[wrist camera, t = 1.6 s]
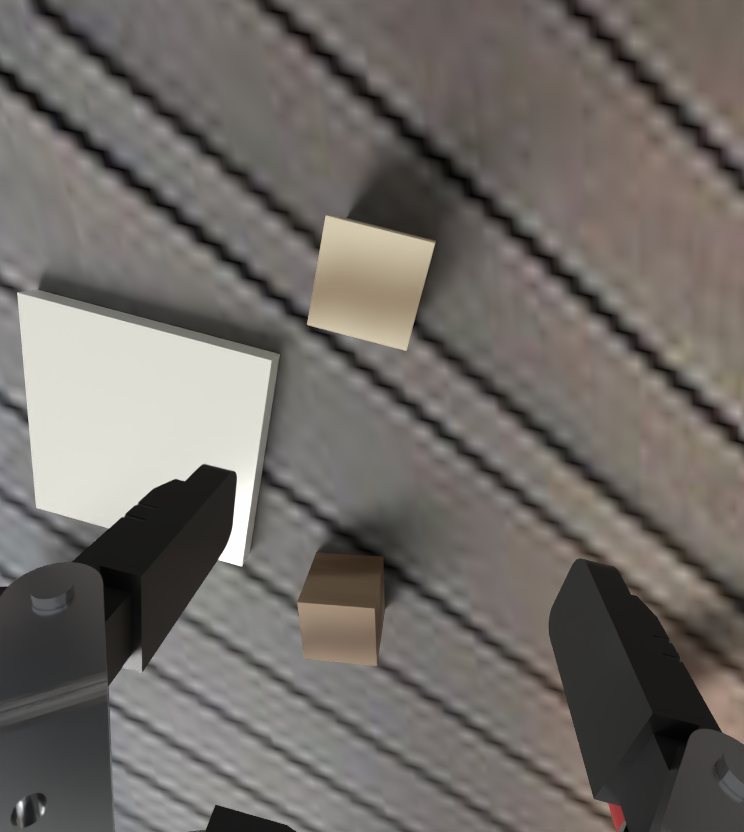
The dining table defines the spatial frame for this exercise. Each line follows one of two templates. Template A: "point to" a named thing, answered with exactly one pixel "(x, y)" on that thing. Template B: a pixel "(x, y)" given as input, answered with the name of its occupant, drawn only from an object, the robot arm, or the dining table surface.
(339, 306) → the birch cube
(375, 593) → the walnut cube
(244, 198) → the dining table surface
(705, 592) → the dining table surface
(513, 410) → the dining table surface
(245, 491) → the stone board
